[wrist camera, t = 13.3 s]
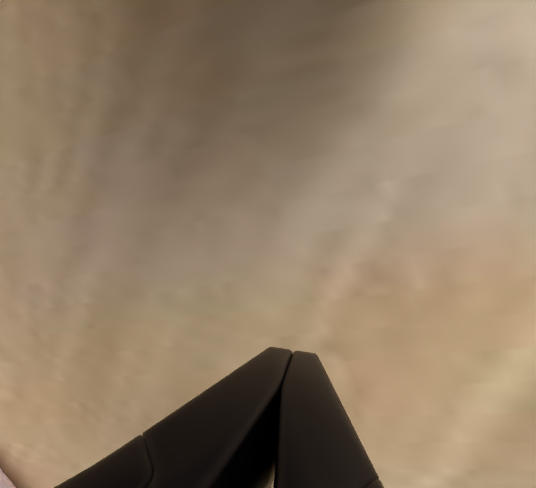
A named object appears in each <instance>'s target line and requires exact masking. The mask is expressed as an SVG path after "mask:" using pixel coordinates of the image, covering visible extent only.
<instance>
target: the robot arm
mask: <svg viewBox="0 0 536 488" xmlns="http://www.w3.org/2000/svg"><path fill="white" fill-rule="evenodd" d="M273 478H274V487H273V488H384V487H383V485H382V483H381V481H380V480H379V477H378V475H377V473H376V471H375V469H374V467H373V465H372V463H371V461H370V459H369V457H368V455H367V453H366V451H365V449H364V447H363V445H362V443H361V441H360V439H359V437H358V435H357V433H356V431H355V429H354V427H353V425H352V423H351V421H350V419H349V417H348V415H347V413H346V411H345V409H344V407H343V405H342V403H341V401H340V399H339V397H338V395H337V393H336V391H335V389H334V387H333V385H332V383H331V381H330V379H329V377H328V375H327V373H326V371H325V369H324V367H323V365H322V363H321V361H320V359H319V357H318V356H317V355H316V354H315V353H309V352H302V351H295V352H294V353H292V351H291V350H289V349H283V348H276V347H269V348H267V349H266V350H265V351H263V352H262V353H260V354H259V355H257V356H256V357H254V358H253V359H251V360H250V361H248V362H247V363H245V364H244V365H242V366H241V367H239V368H238V369H236V370H235V371H234V372H232V373H231V374H229V375H228V376H226V377H225V378H223V379H222V380H220V381H219V382H217V383H216V384H214V385H213V386H211V387H210V388H208V389H207V390H205V391H204V392H203V393H201V394H200V395H198V396H197V397H195V398H194V399H192V400H191V401H189V402H188V403H186V404H185V405H183V406H182V407H180V408H179V409H177V410H176V411H174V412H173V413H172V414H170V415H169V416H167V417H166V418H164V419H163V420H161V421H160V422H158V423H157V424H155V425H154V426H152V427H151V428H149V429H148V430H146V431H145V432H144V433H143V435H142V436H141V435H139V436H137V437H136V438H134V439H133V440H131V441H130V442H128V443H127V444H125V445H124V446H122V447H121V448H119V449H118V450H116V451H115V452H113V453H112V454H110V455H108V456H107V457H105V458H104V459H102V460H101V461H99V462H97V463H96V464H94V465H93V466H91V467H89V468H88V469H86V470H84V471H82V472H81V473H79V474H77V475H75V476H74V477H72V478H70V479H68V480H67V481H65V482H63V483H61V484H60V485H58V486H56V487H54V488H271V485H272V482H273Z"/></svg>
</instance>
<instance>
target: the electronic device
mask: <svg viewBox="0 0 536 488" xmlns="http://www.w3.org/2000/svg"><path fill="white" fill-rule="evenodd" d="M0 488H16V487H15V485H14V484H13V483H12V482H11V481H10V480H9V478H8V477H7V476H6V475H5V474H4V472H3V471H2V470H1V469H0Z"/></svg>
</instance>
